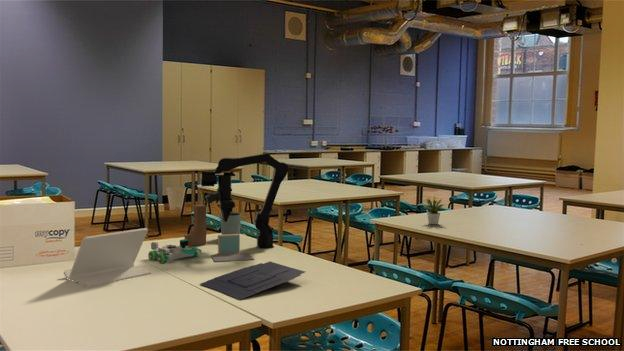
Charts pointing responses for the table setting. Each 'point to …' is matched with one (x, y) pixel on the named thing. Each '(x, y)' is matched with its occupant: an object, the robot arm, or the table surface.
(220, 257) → the mat
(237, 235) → the tile
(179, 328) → the table surface
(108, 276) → the tablet stand
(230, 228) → the drinking glass
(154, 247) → the robot kit
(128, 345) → the table surface
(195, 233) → the wooden block
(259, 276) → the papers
